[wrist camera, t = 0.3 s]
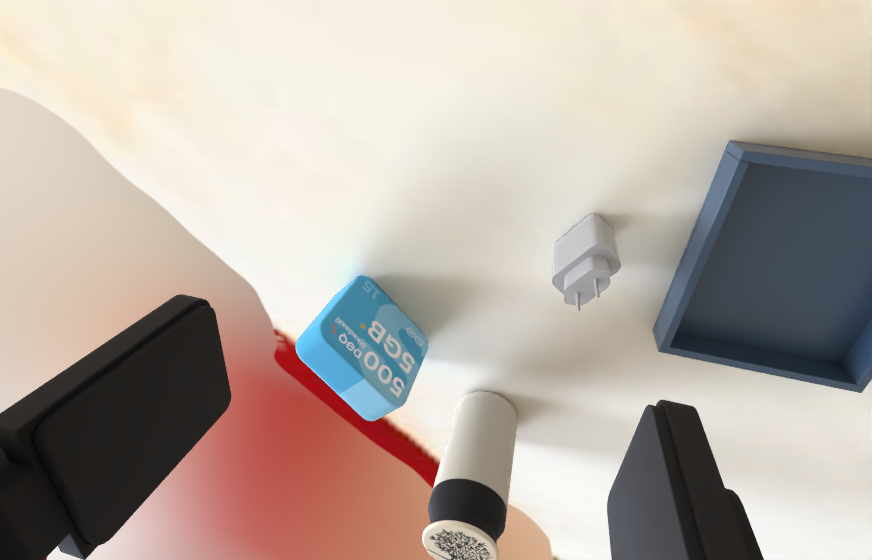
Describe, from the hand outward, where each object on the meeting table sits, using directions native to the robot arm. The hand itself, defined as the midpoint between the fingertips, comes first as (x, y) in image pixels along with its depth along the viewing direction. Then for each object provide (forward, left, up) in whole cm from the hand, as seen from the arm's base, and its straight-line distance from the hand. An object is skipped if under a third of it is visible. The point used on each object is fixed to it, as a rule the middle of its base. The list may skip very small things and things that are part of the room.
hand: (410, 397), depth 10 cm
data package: (+25, -13, -36) cm, 46 cm away
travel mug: (+37, +1, -36) cm, 51 cm away
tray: (+10, +25, -36) cm, 45 cm away
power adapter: (+11, +7, -36) cm, 38 cm away
